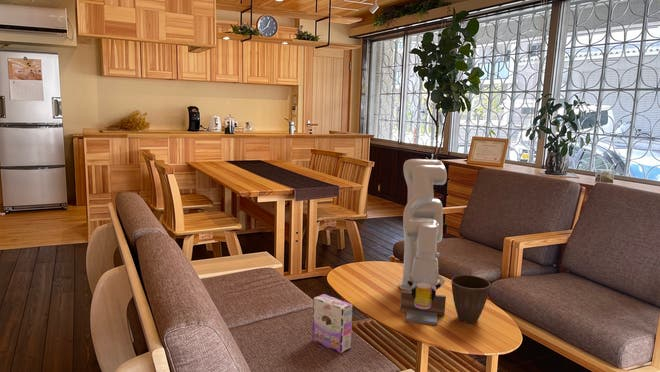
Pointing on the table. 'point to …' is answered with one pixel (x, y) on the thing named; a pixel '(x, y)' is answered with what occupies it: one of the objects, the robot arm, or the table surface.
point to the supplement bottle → (423, 295)
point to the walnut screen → (436, 307)
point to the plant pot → (469, 296)
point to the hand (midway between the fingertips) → (423, 297)
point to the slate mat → (421, 317)
